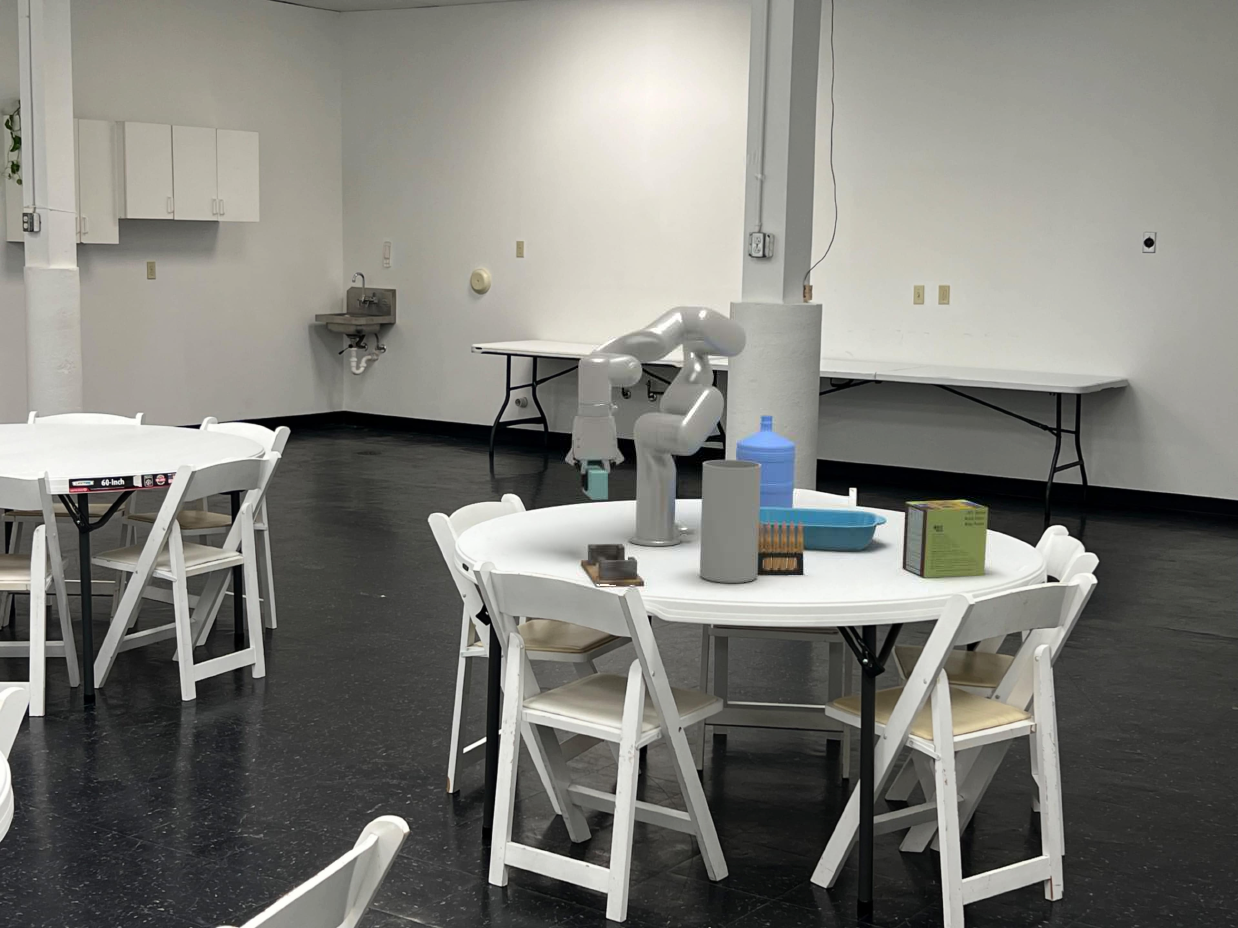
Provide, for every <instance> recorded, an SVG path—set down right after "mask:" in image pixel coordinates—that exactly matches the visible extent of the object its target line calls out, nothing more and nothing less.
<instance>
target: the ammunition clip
mask: <svg viewBox="0 0 1238 928" xmlns="http://www.w3.org/2000/svg"><path fill="white" fill-rule="evenodd" d="M779 545H780V548H779ZM804 571H805V570H804V549H803V526H802V522H801V521H800V523H799V525H798V532H797V539H796V548H795V527H794V522H793V521H792V522H791V525H790V532H789V539H788V548H787V527H786V522H785V521H784V522H783V525H782V531H781V539H780V540H779V526H778V522H777V521H776V523H775V526H774V534H773V540H772V539H771V525H770V522H769V521H768V523H767V526H766V534H765V541H764V538H763V524H762V521H760V523H759V543H758V573H757V576H788V575H803V576H804V575H805V574H804V573H805V572H804Z"/></svg>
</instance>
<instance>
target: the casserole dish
mask: <svg viewBox="0 0 1238 928" xmlns="http://www.w3.org/2000/svg"><path fill="white" fill-rule="evenodd" d="M760 521H762V524H763V538H764V541H765V534H766V526H767V523H768V521H769V522H770V525H771V539H772V540H773V534H774V526H775V523H776V521H777V522H778V526H779V540H780V539H781V531H782V525H783V522H784V521H785V522H786V527H787V549H788V539H789V532H790V525H791V522H792V521H793V522H794V527H795V549H796V539H797V532H798V525H799V523H800V521H801V522H802V526H803V550H819V551H843V552H845V551H848V552H849V551H850V552H851V551H852V552H853V551H862V550H864V549H865V548H867V547H868V546H869V545H870V544H871V542H872V540H873V538H874V536H875V532H876V531H877V530H876V529H877V526H881V525H885V524H886V522H887V519H886V517H884V516H882V515H879V514H876V513H874V512H869V511H860V510H847V509H827V508H826V509H823V508H804V507H799V508H798V507H793V508H780V507H760V514H759V523H760ZM779 549H780V545H779Z"/></svg>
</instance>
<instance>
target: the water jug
mask: <svg viewBox="0 0 1238 928" xmlns="http://www.w3.org/2000/svg"><path fill="white" fill-rule="evenodd" d="M760 418H761V419H760V430H759V431H757V432H755V433H753V434H751V435H749V436H747V437H745V438H742V439H740V440H738V441H737V442H736V449H735V458H736V459H735V460H741V461H750V462H756V463H759V464H761V485H760V507H780V508H794V506H793V505H794V491H795V490H794V489H795V479H794V478H795V477H794V476H795V459H796V450H795V449H796V445H795V443H794V442H793V441H791V440H789V439H787V438H785V437H783V436H781V435H779V434H777V433H776V432H774V431H773V424H774V423H773V418H774V416H773V415H767V414H766V415H760Z"/></svg>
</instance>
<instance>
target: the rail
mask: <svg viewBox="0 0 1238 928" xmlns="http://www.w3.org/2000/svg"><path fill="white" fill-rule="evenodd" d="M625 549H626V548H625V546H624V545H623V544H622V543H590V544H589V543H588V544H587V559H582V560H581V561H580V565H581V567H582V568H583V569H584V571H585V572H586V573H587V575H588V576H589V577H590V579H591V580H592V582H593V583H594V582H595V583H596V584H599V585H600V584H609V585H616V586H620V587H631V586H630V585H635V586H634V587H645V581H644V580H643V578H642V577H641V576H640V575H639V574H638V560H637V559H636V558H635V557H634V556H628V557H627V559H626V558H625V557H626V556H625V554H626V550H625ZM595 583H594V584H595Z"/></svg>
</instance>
